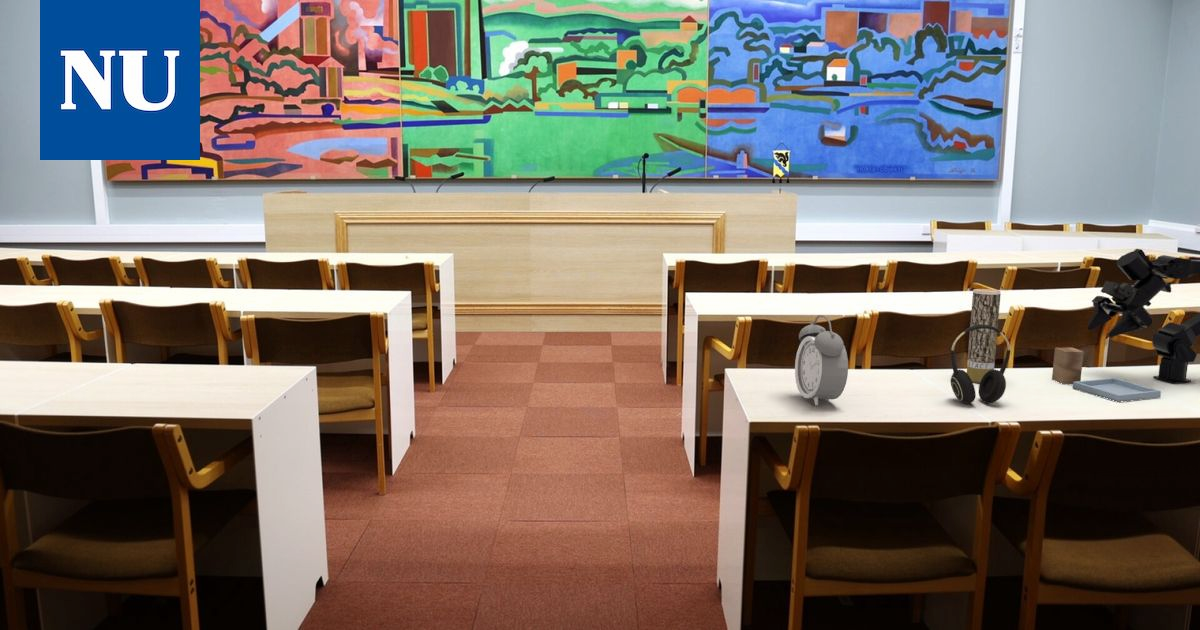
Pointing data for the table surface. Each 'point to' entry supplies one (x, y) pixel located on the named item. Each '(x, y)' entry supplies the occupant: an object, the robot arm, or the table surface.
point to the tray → (1116, 389)
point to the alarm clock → (820, 363)
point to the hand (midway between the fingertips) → (1098, 332)
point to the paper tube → (983, 333)
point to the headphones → (990, 383)
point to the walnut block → (1067, 365)
